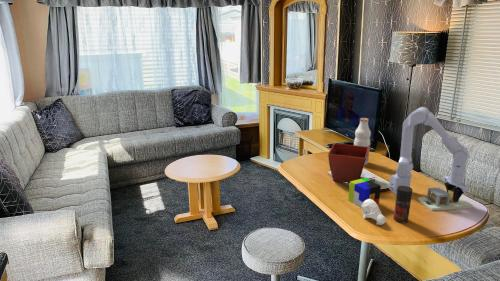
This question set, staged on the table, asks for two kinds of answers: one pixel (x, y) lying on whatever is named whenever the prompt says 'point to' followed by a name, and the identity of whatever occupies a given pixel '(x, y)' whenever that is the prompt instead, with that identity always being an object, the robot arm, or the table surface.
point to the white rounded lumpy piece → (372, 211)
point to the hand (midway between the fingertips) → (452, 199)
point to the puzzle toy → (363, 191)
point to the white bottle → (363, 136)
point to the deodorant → (402, 204)
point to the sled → (442, 198)
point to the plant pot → (347, 162)
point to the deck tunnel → (442, 193)
